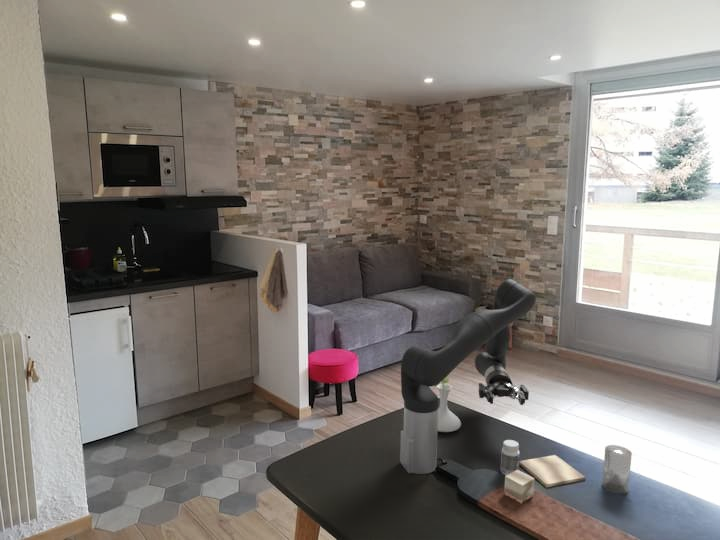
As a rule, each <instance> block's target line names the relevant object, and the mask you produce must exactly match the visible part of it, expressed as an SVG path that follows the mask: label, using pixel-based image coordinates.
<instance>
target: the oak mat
mask: <svg viewBox="0 0 720 540" xmlns="http://www.w3.org/2000/svg"><path fill="white" fill-rule="evenodd" d="M519 466H521V468H523V469H524V470H526V471H527V473H529V475H530V476H532V477H533V478H535V479H536V480H537V481H538V482H539V483H541V484H542V485H543V486H545V487H546V488H550V487H554V486H560V485H566V484H570V483H575V482H581V481H585V480H586V476H585V475H583V474H582V473H581V472H579V471H578V470H577V469H575V468H574V467H573V466H571V465H570V464H568V463H566V461H564V460H563V459H562V458H560V457H559V456H557V455H556V454H553V455H546V456H541V457H535V458H529V459H525V460H524V459H523V460H519Z"/></svg>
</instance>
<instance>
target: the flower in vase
mask: <svg viewBox="0 0 720 540" xmlns="http://www.w3.org/2000/svg"><path fill="white" fill-rule="evenodd" d="M449 381H450V379H449V375H448V376H447V377H446V378H445V379H443V380H442V381H441V383H439V384H437V385H435V386H434V387H436V389H437V390H438V393H439V406H438V431H437V432H440V433H450V432H455V431H458V430H459V429H460V427H461V426H462V422H461V420H460V419H459V417H458V416H457V415H456V414H454V413H453V412H452V411H451V410H450V408H448V398H449V393H450V391H451V390H452V389H453V386H452V385H451V384H448V383H449Z"/></svg>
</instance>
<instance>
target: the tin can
mask: <svg viewBox="0 0 720 540" xmlns="http://www.w3.org/2000/svg"><path fill="white" fill-rule="evenodd" d="M603 460H604V461H603V472H602V481H601V482H602V483H601V485H602V487H603V488H604V489H605V490H606V491H608V492H609V493H613V494H617V495H626V494H627V493H628V492H629V488H630V487H629V486H630V485H629V484H630V476H631V475H630V474H631V465H632V464H631V463H632V451H631V450H630V449H628V448H626V447H624V446H621V445H617V444H615V445H614V444H610V445H607V446H605V449H604V459H603Z"/></svg>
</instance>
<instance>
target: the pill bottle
mask: <svg viewBox="0 0 720 540" xmlns="http://www.w3.org/2000/svg"><path fill="white" fill-rule="evenodd" d="M519 449H520V445H519V442H518V441H516V440H513V439H506V440H504V441H503V443H502V449H501V451H500V452H501V455H500V457H501V458H500V472H501V474H502V475H505V476H506V475H508V474H510V473H512V472H514V471H516V470H519V471H520V464H519V461H520V455H521V452H520V450H519Z"/></svg>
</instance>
